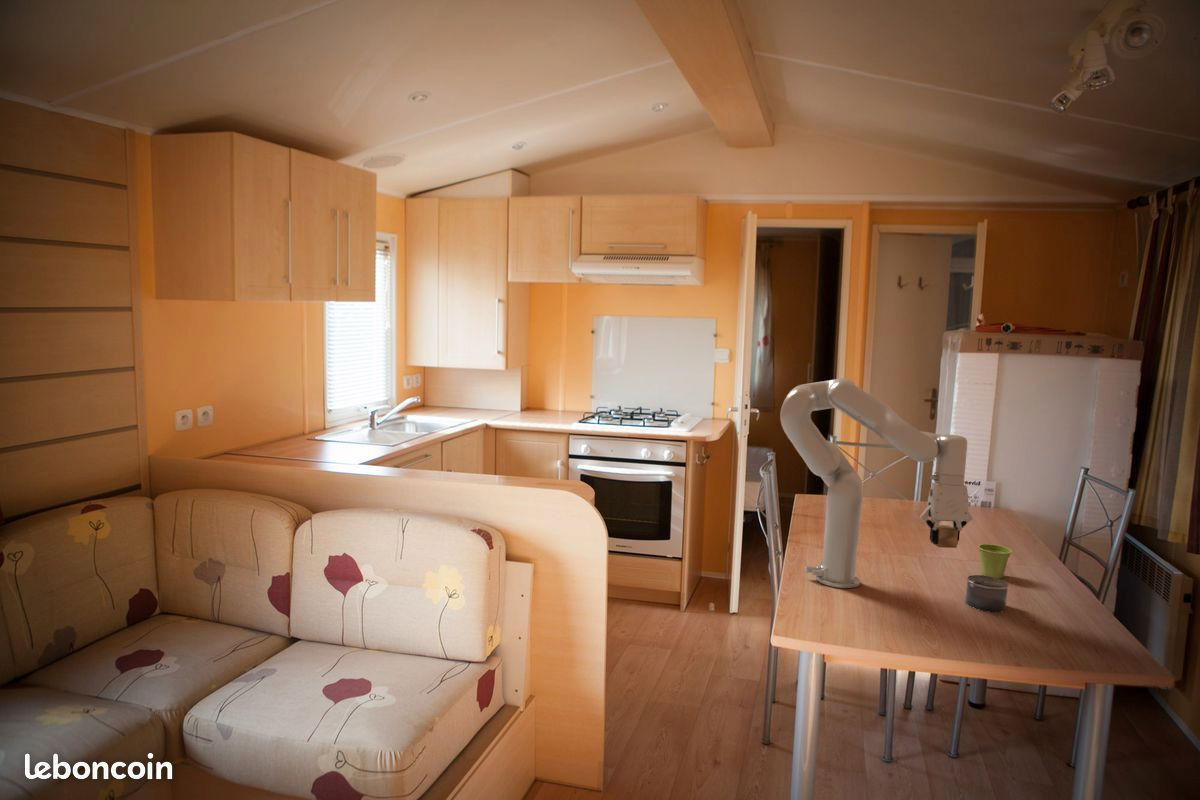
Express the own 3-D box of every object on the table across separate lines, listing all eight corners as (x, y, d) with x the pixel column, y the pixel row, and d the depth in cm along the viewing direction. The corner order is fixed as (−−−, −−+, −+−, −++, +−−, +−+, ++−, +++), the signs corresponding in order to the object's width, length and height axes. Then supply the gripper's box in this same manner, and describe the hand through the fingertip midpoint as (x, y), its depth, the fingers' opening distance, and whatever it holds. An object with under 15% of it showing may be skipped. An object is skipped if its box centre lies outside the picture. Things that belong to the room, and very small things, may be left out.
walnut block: (939, 547, 224) (940, 529, 224) (930, 542, 229) (932, 525, 229) (956, 547, 224) (958, 530, 224) (948, 542, 229) (949, 525, 229)
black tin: (976, 612, 218) (979, 587, 217) (958, 598, 228) (960, 574, 227) (1013, 613, 218) (1016, 588, 217) (993, 599, 228) (996, 575, 228)
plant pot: (990, 581, 244) (993, 553, 243) (968, 571, 253) (971, 544, 252) (1016, 580, 246) (1019, 552, 245) (993, 569, 255) (996, 543, 254)
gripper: (925, 481, 221) (920, 546, 223) (986, 483, 221) (980, 547, 223) (913, 475, 228) (908, 538, 230) (972, 477, 229) (966, 539, 231)
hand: (944, 542), depth 227 cm, fingers closed on walnut block, 5 cm apart
